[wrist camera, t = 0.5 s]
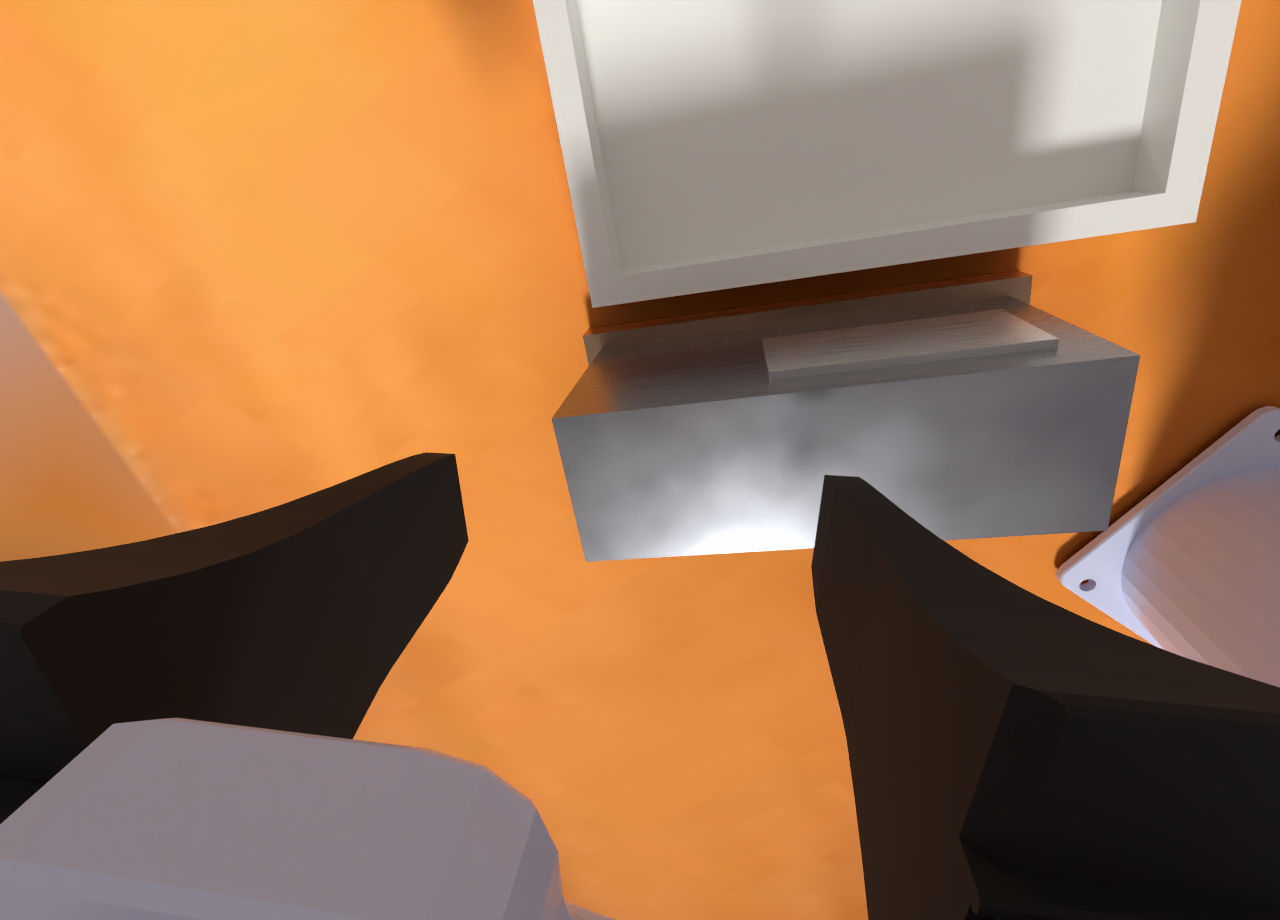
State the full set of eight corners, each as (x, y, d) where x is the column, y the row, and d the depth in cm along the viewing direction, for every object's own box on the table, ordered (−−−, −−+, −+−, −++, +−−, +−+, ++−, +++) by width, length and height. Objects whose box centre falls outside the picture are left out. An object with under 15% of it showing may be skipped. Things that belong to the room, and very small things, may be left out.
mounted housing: (1017, 270, 18) (1174, 326, 11) (1002, 427, 20) (1129, 547, 13) (589, 328, 20) (525, 400, 14) (616, 462, 22) (571, 578, 16)
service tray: (1225, -205, 13) (1294, -257, 11) (1150, 216, 17) (1195, 222, 15) (543, -30, 16) (523, -52, 14) (603, 296, 20) (592, 307, 18)
